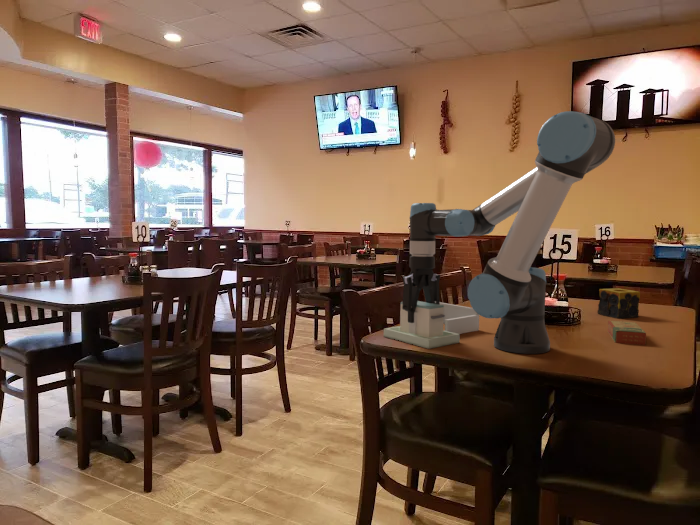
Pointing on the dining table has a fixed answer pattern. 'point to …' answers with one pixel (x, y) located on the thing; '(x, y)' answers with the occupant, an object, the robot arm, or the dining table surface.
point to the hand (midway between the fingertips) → (420, 331)
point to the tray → (422, 338)
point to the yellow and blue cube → (619, 303)
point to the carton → (626, 332)
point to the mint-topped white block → (425, 319)
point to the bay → (460, 319)
